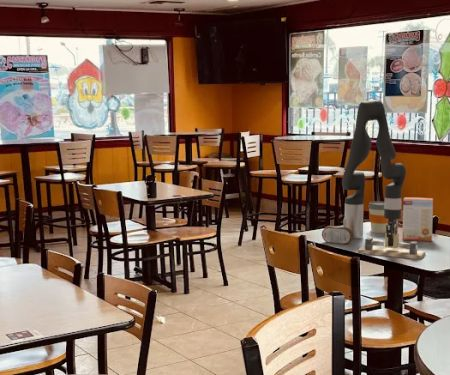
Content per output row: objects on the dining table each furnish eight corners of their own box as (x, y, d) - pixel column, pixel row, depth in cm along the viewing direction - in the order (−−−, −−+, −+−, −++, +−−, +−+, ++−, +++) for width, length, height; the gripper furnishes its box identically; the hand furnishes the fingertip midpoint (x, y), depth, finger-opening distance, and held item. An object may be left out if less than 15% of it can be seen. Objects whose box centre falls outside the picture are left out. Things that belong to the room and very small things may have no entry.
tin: (353, 244, 334) (353, 227, 333) (351, 245, 332) (351, 228, 330) (322, 241, 341) (323, 224, 340) (320, 242, 338) (321, 225, 337)
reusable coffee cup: (394, 233, 360) (395, 204, 358) (370, 233, 361) (371, 204, 359) (389, 228, 373) (390, 201, 371) (365, 228, 373) (366, 201, 371)
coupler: (398, 246, 314) (398, 233, 313) (396, 248, 310) (396, 235, 309) (387, 245, 316) (387, 232, 315) (384, 247, 312) (385, 234, 312)
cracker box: (432, 239, 345) (433, 197, 342) (431, 241, 339) (433, 199, 337) (403, 237, 350) (404, 196, 347) (402, 240, 344) (403, 198, 341)
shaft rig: (358, 253, 315) (358, 238, 314) (364, 248, 324) (364, 235, 323) (420, 259, 303) (421, 244, 302) (425, 254, 312) (425, 240, 311)
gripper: (397, 210, 303) (396, 249, 305) (404, 206, 315) (403, 243, 318) (380, 209, 306) (379, 247, 308) (388, 204, 319) (387, 241, 321)
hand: (391, 245), depth 313 cm, fingers closed on coupler, 4 cm apart
